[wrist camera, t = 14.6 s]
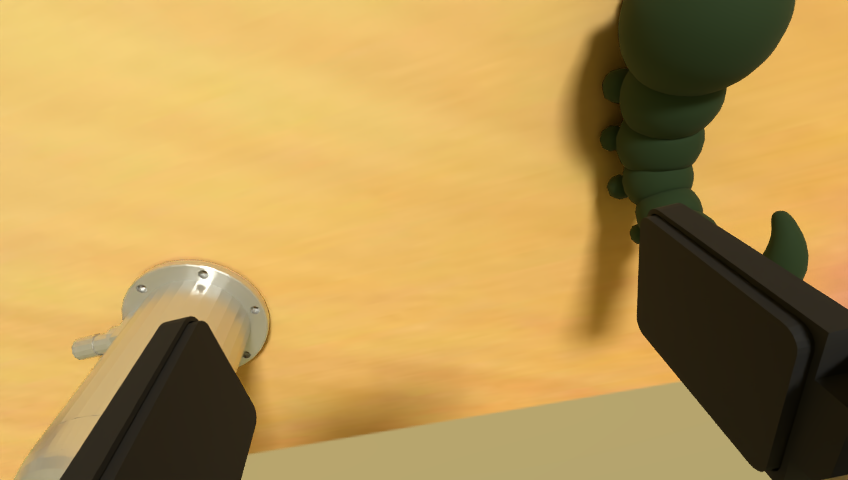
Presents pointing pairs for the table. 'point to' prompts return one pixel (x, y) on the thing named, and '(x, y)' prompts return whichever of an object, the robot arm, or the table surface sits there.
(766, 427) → the robot arm
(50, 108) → the table surface
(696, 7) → the toy figurine
